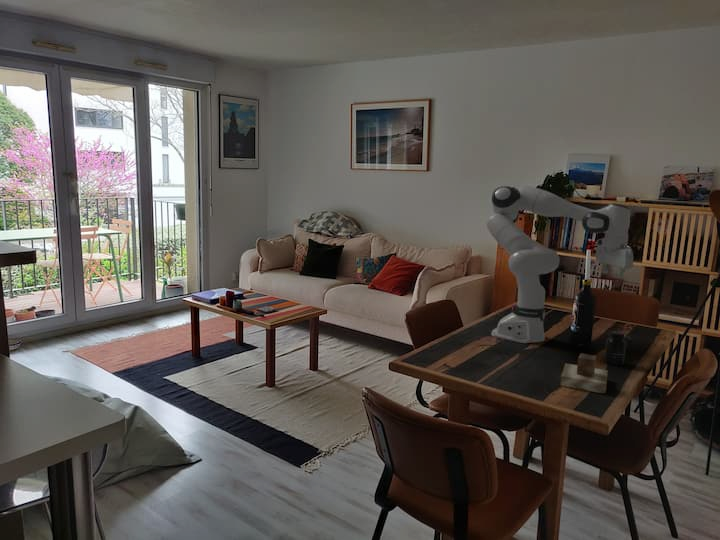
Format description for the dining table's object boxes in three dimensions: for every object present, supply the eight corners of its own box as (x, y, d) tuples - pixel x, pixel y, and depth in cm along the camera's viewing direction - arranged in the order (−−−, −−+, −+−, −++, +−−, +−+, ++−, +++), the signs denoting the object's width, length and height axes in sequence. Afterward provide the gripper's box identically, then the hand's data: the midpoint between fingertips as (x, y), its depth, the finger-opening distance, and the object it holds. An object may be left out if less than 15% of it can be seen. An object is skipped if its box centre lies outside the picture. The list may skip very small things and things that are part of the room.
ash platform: (560, 387, 185) (561, 375, 184) (564, 373, 198) (565, 363, 197) (605, 395, 179) (606, 383, 179) (606, 381, 192) (607, 370, 191)
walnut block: (576, 374, 186) (578, 357, 185) (579, 369, 191) (580, 353, 190) (592, 377, 184) (594, 360, 183) (594, 372, 188) (596, 356, 187)
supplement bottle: (615, 367, 205) (619, 336, 203) (600, 361, 211) (603, 331, 208) (627, 364, 208) (631, 334, 206) (612, 358, 214) (615, 329, 212)
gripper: (639, 246, 218) (635, 280, 220) (607, 240, 238) (604, 271, 240) (625, 246, 217) (621, 280, 219) (594, 239, 236) (591, 271, 239)
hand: (612, 275), depth 230 cm, fingers open, 8 cm apart
